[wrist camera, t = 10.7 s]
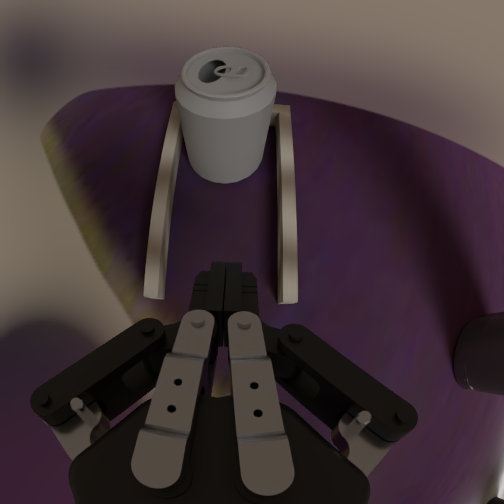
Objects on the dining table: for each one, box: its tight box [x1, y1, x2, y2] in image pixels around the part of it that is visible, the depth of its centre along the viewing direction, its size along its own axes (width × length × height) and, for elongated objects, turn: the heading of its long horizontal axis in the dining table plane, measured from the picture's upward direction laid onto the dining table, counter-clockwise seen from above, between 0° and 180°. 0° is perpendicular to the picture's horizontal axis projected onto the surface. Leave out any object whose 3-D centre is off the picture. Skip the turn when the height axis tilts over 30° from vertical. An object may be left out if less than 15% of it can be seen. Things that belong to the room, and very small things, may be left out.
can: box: [175, 46, 277, 183], centre depth 22 cm, size 8×8×12 cm
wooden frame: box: [144, 101, 298, 304], centre depth 25 cm, size 20×12×2 cm, turn 179°
